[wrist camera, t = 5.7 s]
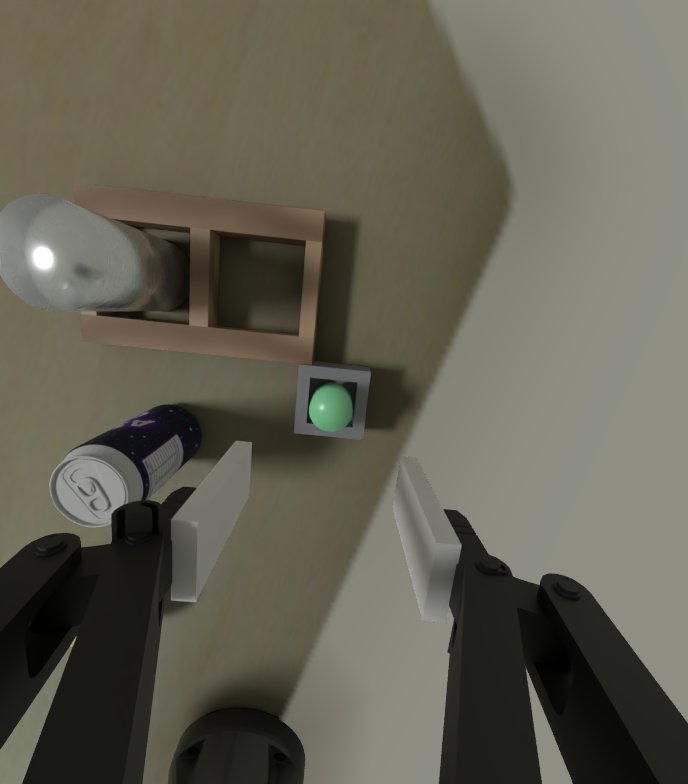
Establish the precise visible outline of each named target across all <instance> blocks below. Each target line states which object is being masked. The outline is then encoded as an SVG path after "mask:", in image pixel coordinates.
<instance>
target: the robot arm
mask: <svg viewBox="0 0 688 784" xmlns="http://www.w3.org/2000/svg"><path fill="white" fill-rule="evenodd" d="M251 453H252V442H245V441H235V442H234V443H233V445H232V446H231V447H230V448H229V449H228V451H227V452H226V453H225V454H224V456H223V457H222V458H221V459H220V460H219V462H218V463H217V464H216V465H215V467H214V468H213V469H212V470H211V471H210V473H209V474H208V475H207V476H206V478H205V479H204V480H203V481H202V482H201V484H200V485H199V486H198V487H197V488H193V487H182V488H180V489H178V490H176V491H174V492H172V493H171V494H170V495H169V496H168V497H167V498H166V500H165V502H163V503H162V504H160V503H158V502H155V501H151V500H141V501H135V502H130V503H127V504H124V505H122V506H120V507H118V508H117V509H115V510H114V512H113V513H112V514H111V523H112V542H111V544H106V545H100V546H91V547H82V548H81V541H80V537H78V536H77V535H75V534H70V533H59V534H58V533H57V534H51V535H47V536H44V537H42V538H40V539H37V540H35V541H33V542H31V543H30V544H28V545H27V546H25V547H24V548H23V549H21V550H20V551H19V552H18V553H17V554H16V555H15V556H13V557H12V558H11V559H10V560H9V561H8V562H7V563H5V564H4V565H3V566H2V567H1V568H0V749H1V748H2V746H3V745H4V743H5V742H6V740H7V739H8V737H9V736H10V734H11V733H12V731H13V730H14V728H15V727H16V725H17V724H18V722H19V721H20V720H21V718H22V717H23V715H24V714H25V712H26V711H27V709H28V708H29V706H30V705H31V703H32V702H33V700H34V699H35V697H36V696H37V694H38V693H39V691H40V690H41V688H42V687H43V685H44V684H45V682H46V681H47V679H48V678H49V676H50V675H51V673H52V672H53V670H54V669H55V667H56V666H57V664H58V663H59V662H60V660H61V659H62V657H63V656H64V654H65V653H66V651H67V650H68V648H69V647H70V645H71V644H72V642H73V641H74V639H75V638H76V640H75V642H74V645H73V648H72V650H71V653H70V656H69V659H68V661H67V664H66V667H65V669H64V672H63V675H62V678H61V680H60V683H59V686H58V688H57V691H56V694H55V697H54V699H53V702H52V705H51V707H50V710H49V713H48V715H47V718H46V721H45V724H44V726H43V729H42V732H41V734H40V737H39V740H38V743H37V745H36V748H35V751H34V753H33V756H32V759H31V762H30V764H29V767H28V770H27V772H26V775H25V778H24V780H23V783H22V784H142V781H143V772H144V764H145V756H146V748H147V740H148V732H149V724H150V715H151V707H152V699H153V691H154V683H155V675H156V667H157V659H158V650H159V642H160V634H161V626H162V618H163V610H164V595H165V593H166V592H167V590H168V589H169V587H170V585H171V600H173V601H186V602H196V601H197V599H198V597H199V595H200V593H201V591H202V589H203V587H204V585H205V583H206V581H207V579H208V577H209V575H210V573H211V571H212V569H213V567H214V565H215V563H216V561H217V559H218V557H219V555H220V553H221V551H222V549H223V547H224V545H225V543H226V541H227V539H228V537H229V535H230V533H231V531H232V529H233V527H234V525H235V523H236V521H237V519H238V517H239V515H240V513H241V511H242V509H243V507H244V505H245V503H246V501H247V499H248V497H249V492H250V472H251ZM393 511H394V514H395V518H396V522H397V526H398V530H399V533H400V537H401V541H402V545H403V549H404V553H405V556H406V560H407V564H408V568H409V572H410V575H411V579H412V583H413V587H414V591H415V594H416V598H417V601H418V606H419V610H420V613H421V617H422V620H423V621H432V622H445V623H446V622H447V618H448V613H449V608H450V609H451V612H452V614H453V617H454V623H453V627H452V632H451V637H450V642H449V648H448V653H450V658H449V670H448V682H447V695H446V707H445V718H444V730H443V742H442V754H441V767H440V778H439V784H542V780H541V774H540V766H539V759H538V753H537V745H536V738H535V732H534V724H533V717H532V710H531V703H530V696H529V689H528V682H527V675H526V668H527V670H528V673H529V676H530V678H531V680H532V683H533V686H534V688H535V690H536V693H537V695H538V698H539V700H540V703H541V705H542V708H543V710H544V713H545V715H546V717H547V720H548V723H549V725H550V727H551V730H552V732H553V735H554V737H555V740H556V742H557V745H558V747H559V750H560V752H561V755H562V757H563V760H564V762H565V765H566V767H567V769H568V772H569V774H570V777H571V779H572V782H573V784H688V723H687V722H686V720H685V719H684V718H683V716H682V715H681V713H680V712H679V711H678V709H677V708H676V707H675V705H674V704H673V703H672V701H671V700H670V699H669V697H668V696H667V695H666V694H665V692H664V691H663V689H662V688H661V687H660V685H659V684H658V683H657V681H656V680H655V679H654V677H653V676H652V675H651V673H650V672H649V671H648V669H647V668H646V667H645V665H644V664H643V663H642V661H641V660H640V659H639V657H638V656H637V655H636V653H635V652H634V651H633V649H632V648H631V647H630V645H629V644H628V642H627V641H626V640H625V638H624V637H623V636H622V635H621V633H620V632H619V630H618V629H617V628H616V626H615V625H614V624H613V622H612V621H611V620H610V618H609V617H608V616H607V614H606V613H605V612H604V610H603V609H602V608H601V606H600V605H599V604H598V602H597V601H596V600H595V598H594V597H593V596H592V594H591V593H590V592H589V591H588V590H587V589H586V588H585V587H584V586H582V585H581V584H579V583H578V582H576V581H575V580H573V579H571V578H569V577H566V576H563V575H559V574H546V575H543V577H542V579H541V582H540V585H537V584H534V583H530V582H527V581H524V580H520V579H518V578H515V577H513V576H512V573H511V570H510V568H509V567H508V566H507V565H506V564H505V563H504V562H502V561H501V560H499V559H498V558H496V557H493V556H491V555H489V554H488V553H487V551H486V549H485V548H484V546H483V544H482V543H481V541H480V539H479V538H478V536H477V535H476V533H475V531H474V530H473V529H472V526H471V525H470V523H469V521H468V520H467V518H466V517H464V516H463V515H462V514H461V513H459V512H458V511H457V510H446V509H443V508H442V506H441V504H440V502H439V500H438V499H437V497H436V495H435V493H434V491H433V489H432V487H431V485H430V483H429V481H428V479H427V477H426V475H425V473H424V472H423V469H422V467H421V466H420V464H419V462H418V460H417V458H413V457H403V456H401V457H400V463H399V470H398V477H397V484H396V491H395V498H394V504H393ZM76 636H77V637H76ZM525 666H526V667H525ZM304 767H305V754H304V749H303V746H302V744H301V741H300V740H299V738H298V737H297V735H296V734H295V733H294V732H293V730H292V729H291V728H290V727H289V726H287V725H286V724H285V723H284V722H282V721H281V720H279V719H277V718H275V717H273V716H271V715H269V714H266V713H263V712H260V711H256V710H250V709H226V710H220V711H216V712H213V713H210V714H208V715H205V716H203V717H201V718H200V719H198V720H197V721H195V722H194V723H193V724H191V725H190V726H189V727H188V728H187V729H186V731H185V732H184V733H183V735H182V737H181V739H180V741H179V744H178V746H177V749H176V752H175V754H174V757H173V760H172V762H171V766H170V770H169V778H168V784H303V779H304Z"/></svg>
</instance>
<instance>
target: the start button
mask: <svg viewBox="0 0 688 784" xmlns="http://www.w3.org/2000/svg"><path fill="white" fill-rule="evenodd" d="M352 413H353V409H352V400H351V395H350V393H349V391H348V390H347V389H346V388H345V387H344V386H343V385H341V384H339V383H334V382H329V383H325V384H323V385H321V386H319V387H318V388H317V389H316V391H315V392H314V394H313V397H312V400H311V403H310V406H309V415H310V418H311V420H312V422H313V423H314V425H315V426H317V427H318V428H319V429H321V430H324V431H328V432H334V431H338V430H341V429H343V428H344V427H345V426H346V425H347V424H348V423H349V422H350V420H351V417H352Z"/></svg>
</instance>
